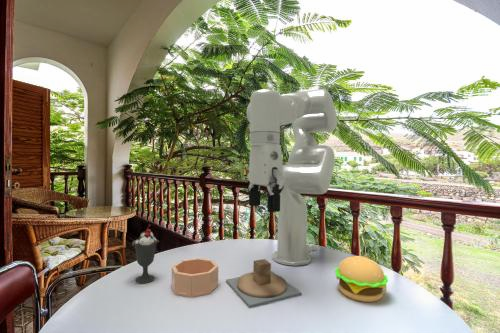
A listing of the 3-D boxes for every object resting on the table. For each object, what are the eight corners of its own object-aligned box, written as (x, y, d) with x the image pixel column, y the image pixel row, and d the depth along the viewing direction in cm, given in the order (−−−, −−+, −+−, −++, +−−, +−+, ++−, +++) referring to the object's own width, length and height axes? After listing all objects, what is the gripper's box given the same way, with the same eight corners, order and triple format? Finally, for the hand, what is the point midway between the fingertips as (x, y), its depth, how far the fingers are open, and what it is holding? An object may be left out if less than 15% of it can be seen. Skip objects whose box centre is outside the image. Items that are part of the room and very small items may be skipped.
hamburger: (352, 308, 57) (352, 268, 57) (325, 283, 69) (326, 251, 69) (399, 303, 59) (400, 265, 59) (366, 280, 71) (367, 249, 71)
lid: (270, 272, 74) (270, 251, 74) (296, 291, 63) (297, 266, 63) (229, 280, 68) (230, 257, 68) (250, 302, 57) (251, 275, 57)
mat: (271, 273, 75) (271, 271, 75) (301, 295, 62) (301, 292, 62) (225, 281, 69) (225, 279, 69) (249, 308, 56) (249, 305, 56)
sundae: (149, 286, 65) (150, 226, 65) (125, 283, 67) (126, 225, 67) (163, 275, 72) (164, 221, 72) (141, 273, 73) (142, 219, 73)
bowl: (209, 274, 73) (209, 256, 73) (222, 291, 64) (223, 270, 64) (168, 281, 69) (169, 262, 69) (176, 300, 59) (177, 278, 59)
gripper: (297, 138, 59) (296, 213, 60) (261, 143, 75) (260, 203, 75) (269, 136, 56) (268, 215, 56) (237, 142, 72) (236, 204, 72)
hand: (263, 208), depth 66 cm, fingers open, 9 cm apart
